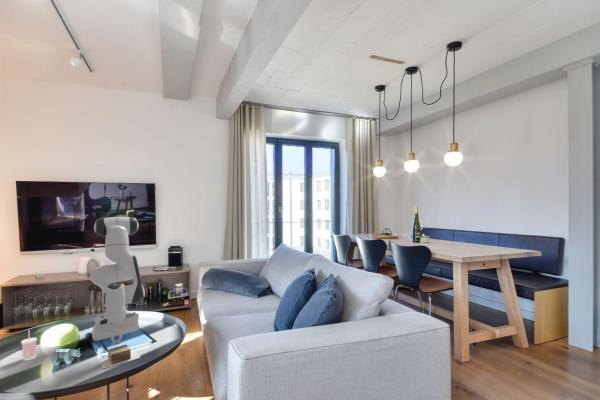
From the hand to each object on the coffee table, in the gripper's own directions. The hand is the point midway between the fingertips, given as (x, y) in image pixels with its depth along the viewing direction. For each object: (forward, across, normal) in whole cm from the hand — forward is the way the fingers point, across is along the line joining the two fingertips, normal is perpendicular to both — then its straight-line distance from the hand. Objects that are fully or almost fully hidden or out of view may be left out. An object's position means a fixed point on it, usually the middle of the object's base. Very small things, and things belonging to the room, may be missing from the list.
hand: (116, 344), depth 163 cm
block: (+3, 0, +2) cm, 3 cm away
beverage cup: (+6, +33, -28) cm, 43 cm away
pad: (+6, 0, +7) cm, 9 cm away
